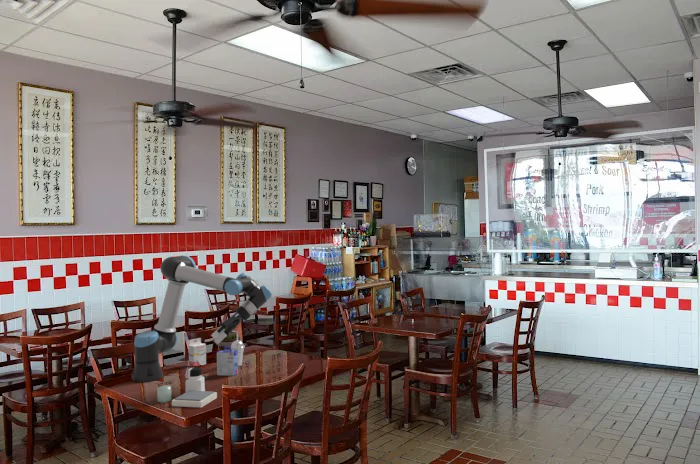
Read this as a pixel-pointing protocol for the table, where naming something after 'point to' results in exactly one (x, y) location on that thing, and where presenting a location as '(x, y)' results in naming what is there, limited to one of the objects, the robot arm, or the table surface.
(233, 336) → the flowerpot
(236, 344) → the block with straw
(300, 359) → the table surface
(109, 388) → the table surface
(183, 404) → the podium
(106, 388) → the table surface
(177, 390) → the table surface
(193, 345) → the ink cartridge box
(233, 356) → the ink cartridge box
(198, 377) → the medicine bottle
